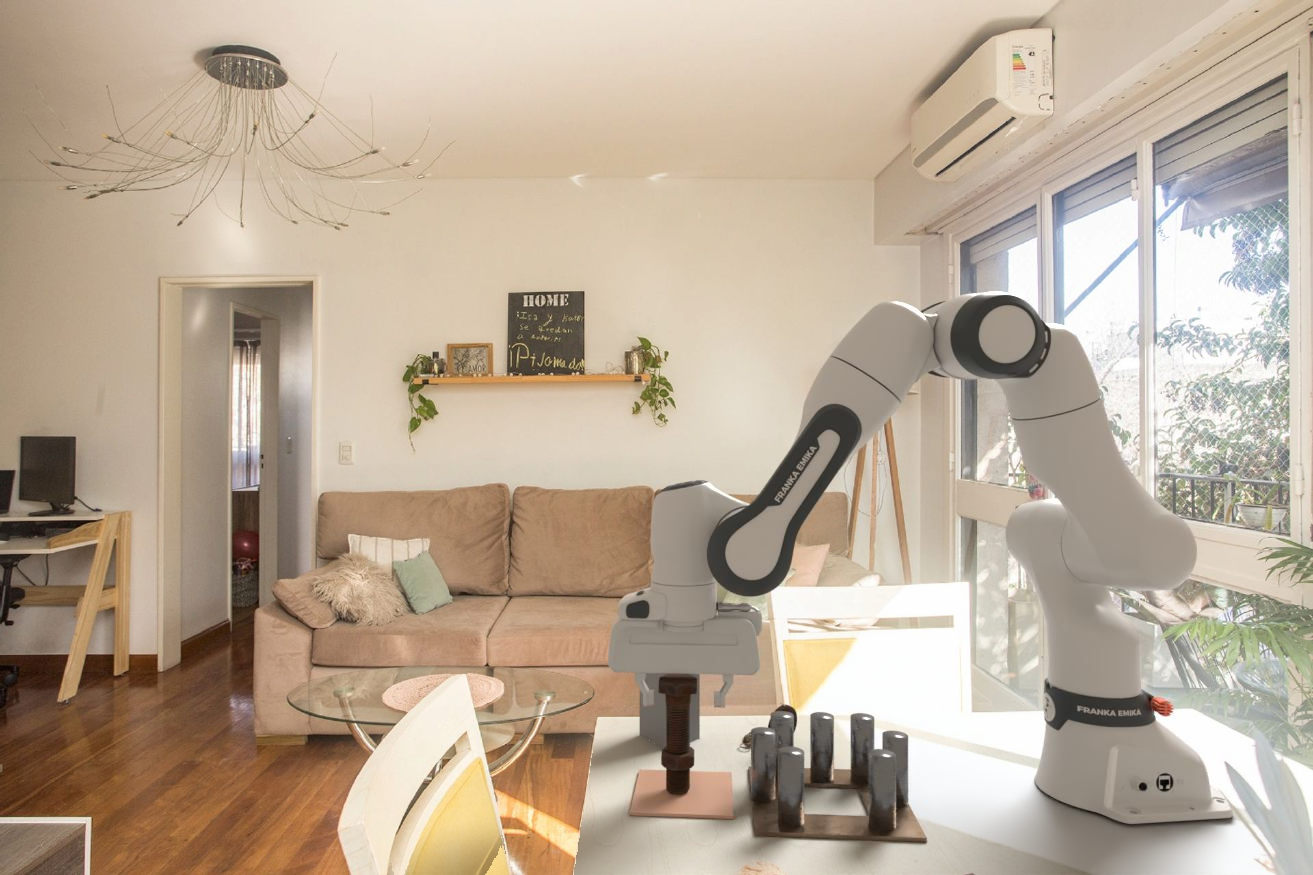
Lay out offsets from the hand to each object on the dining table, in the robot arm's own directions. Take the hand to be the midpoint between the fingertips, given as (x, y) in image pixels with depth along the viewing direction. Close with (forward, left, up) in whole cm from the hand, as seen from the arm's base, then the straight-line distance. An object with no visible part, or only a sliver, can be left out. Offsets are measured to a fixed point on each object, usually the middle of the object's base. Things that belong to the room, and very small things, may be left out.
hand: (684, 705), depth 105 cm
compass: (-11, -17, -12) cm, 24 cm away
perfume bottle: (+3, -19, -12) cm, 23 cm away
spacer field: (-19, +1, -12) cm, 22 cm away
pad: (0, 0, -12) cm, 12 cm away
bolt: (+1, 0, -12) cm, 12 cm away
